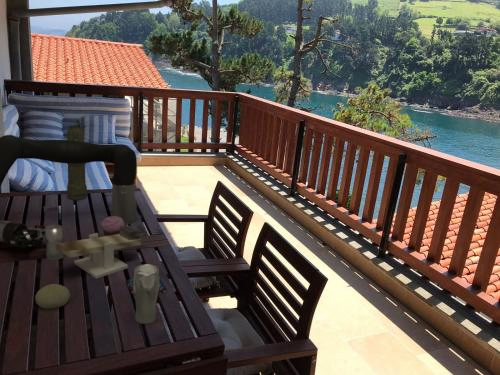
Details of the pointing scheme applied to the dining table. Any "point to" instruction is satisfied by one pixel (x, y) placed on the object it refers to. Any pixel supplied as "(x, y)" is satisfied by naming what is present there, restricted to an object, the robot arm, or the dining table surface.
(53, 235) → the translucent grey cylinder
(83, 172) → the thermos
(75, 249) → the balance beam
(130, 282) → the woven mat
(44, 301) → the sea urchin shell
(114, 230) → the cupcake
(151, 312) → the beer glass
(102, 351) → the dining table surface
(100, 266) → the pivot stand
